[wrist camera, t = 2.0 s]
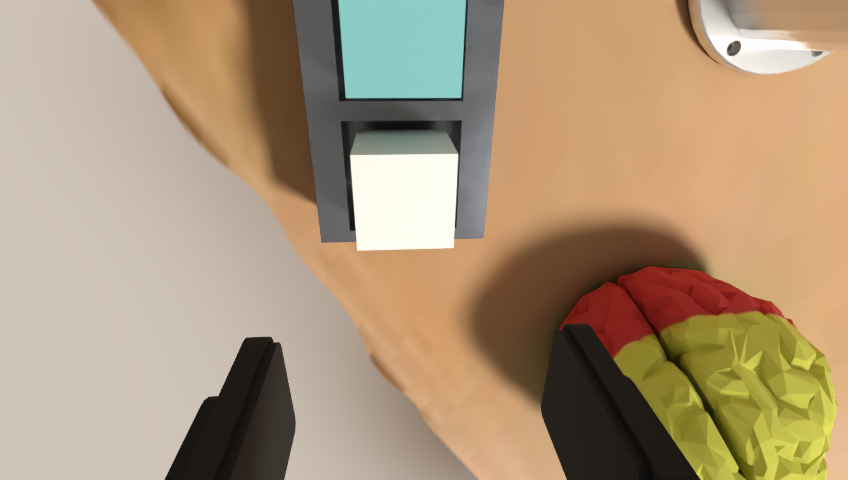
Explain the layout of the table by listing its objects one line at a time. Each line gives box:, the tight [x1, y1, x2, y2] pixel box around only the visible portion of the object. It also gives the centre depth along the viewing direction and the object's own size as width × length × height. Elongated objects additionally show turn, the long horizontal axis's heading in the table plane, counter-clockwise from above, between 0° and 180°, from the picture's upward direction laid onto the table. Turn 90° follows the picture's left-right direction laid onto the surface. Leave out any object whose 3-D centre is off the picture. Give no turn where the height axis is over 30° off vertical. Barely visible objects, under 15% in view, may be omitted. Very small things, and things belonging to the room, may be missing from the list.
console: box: [293, 0, 504, 243], centre depth 22 cm, size 10×23×5 cm, turn 179°
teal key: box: [338, 0, 466, 98], centre depth 19 cm, size 5×5×5 cm
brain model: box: [559, 266, 838, 480], centre depth 32 cm, size 24×19×15 cm
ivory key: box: [350, 130, 458, 251], centre depth 22 cm, size 5×5×5 cm
